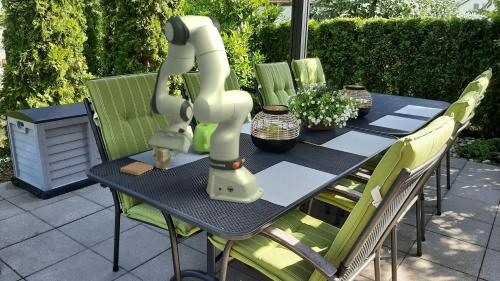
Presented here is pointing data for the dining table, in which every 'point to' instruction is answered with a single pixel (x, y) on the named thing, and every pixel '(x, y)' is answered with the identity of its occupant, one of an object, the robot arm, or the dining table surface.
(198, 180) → the dining table surface
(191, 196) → the dining table surface
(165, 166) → the post
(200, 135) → the teapot
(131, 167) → the tile
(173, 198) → the dining table surface
